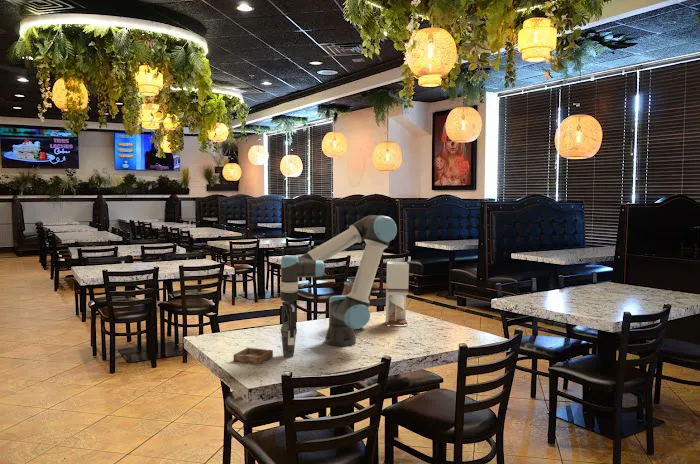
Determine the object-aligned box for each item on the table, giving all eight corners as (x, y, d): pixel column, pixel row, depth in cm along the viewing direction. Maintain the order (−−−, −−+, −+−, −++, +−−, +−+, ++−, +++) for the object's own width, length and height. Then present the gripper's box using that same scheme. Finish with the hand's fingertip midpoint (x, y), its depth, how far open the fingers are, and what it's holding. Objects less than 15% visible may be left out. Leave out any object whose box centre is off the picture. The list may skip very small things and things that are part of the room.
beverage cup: (280, 353, 243) (281, 309, 242) (296, 353, 244) (297, 309, 243) (279, 358, 236) (280, 313, 235) (296, 358, 237) (297, 313, 236)
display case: (386, 326, 302) (388, 263, 300) (385, 322, 312) (386, 261, 310) (407, 326, 302) (408, 264, 300) (405, 322, 312) (406, 262, 310)
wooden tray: (272, 357, 238) (272, 350, 238) (259, 364, 226) (259, 357, 226) (247, 354, 242) (247, 347, 242) (233, 361, 230) (233, 354, 230)
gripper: (275, 288, 246) (274, 337, 248) (287, 295, 228) (286, 349, 229) (291, 287, 249) (290, 336, 250) (304, 294, 231) (303, 347, 232)
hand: (288, 342), depth 240 cm, fingers closed on beverage cup, 7 cm apart
